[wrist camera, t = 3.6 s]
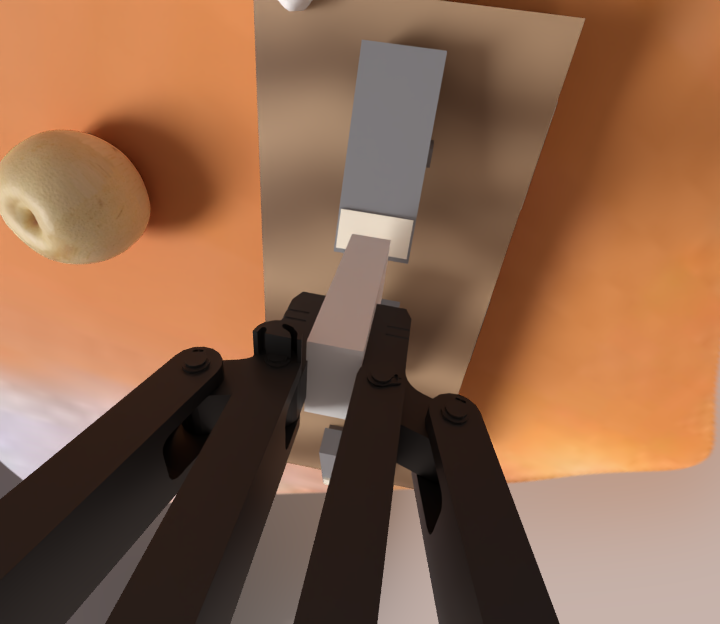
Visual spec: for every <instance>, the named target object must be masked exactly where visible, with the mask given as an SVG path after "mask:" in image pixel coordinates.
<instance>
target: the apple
mask: <svg viewBox="0 0 720 624" xmlns="http://www.w3.org/2000/svg"><path fill="white" fill-rule="evenodd" d="M150 212H151V208H150V201H149V197H148V193H147V190H146V187H145V185H144V182H143V180H142V178H141V176H140V174H139V172H138V171H137V169H136V168H135V166H134V165H133V164H132V162H131V161H130V160H129V159H128V158H127V157H126V156H125V155H124V154H123V153H122V152H121V151H120V150H118V149H117V148H116V147H114V146H113V145H111V144H110V143H108V142H106V141H104V140H103V139H100V138H98V137H96V136H93V135H90V134H87V133H83V132H79V131H73V130H52V131H46V132H42V133H38V134H36V135H33V136H31V137H29V138H27V139H25V140H24V141H22V142H21V143H19V144H18V145H16V146H15V147H14V148H13V149H11V150H10V151H9V152H8V153H7V154H6V156H5V157H4V158H3V159H2V160H1V161H0V214H1V216H2V218H3V220H4V221H5V223H6V224H7V225H8V227H9V228H10V229H11V230H12V231H13V232H14V233H15V234H16V235H17V236H18V237H19V238H20V239H21V240H22V241H23V242H24V243H25V244H26V245H28V246H29V247H30V248H32V249H33V250H34V251H36V252H37V253H39V254H40V255H42V256H44V257H46V258H48V259H50V260H53V261H57V262H61V263H66V264H91V263H97V262H101V261H105V260H108V259H111V258H113V257H115V256H117V255H119V254H121V253H123V252H124V251H126V250H127V249H129V248H130V247H131V246H132V245H133V244H134V243H135V242H136V241H137V240H138V239H139V238H140V237H141V236H142V234H143V233H144V231H145V229H146V227H147V225H148V222H149V218H150Z"/></svg>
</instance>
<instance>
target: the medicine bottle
mask: <svg viewBox="0 0 720 624" xmlns="http://www.w3.org/2000/svg"><path fill="white" fill-rule="evenodd" d="M278 1H279V2H280V3H281V4H282V6H283V7H284V8H285V9H287V10H288V11H303V10H305V9H306V8H307V7H308V6H309V4H310V3H311V2H312V0H278Z"/></svg>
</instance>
